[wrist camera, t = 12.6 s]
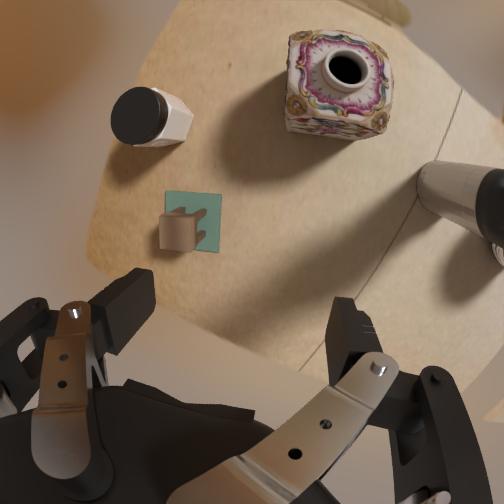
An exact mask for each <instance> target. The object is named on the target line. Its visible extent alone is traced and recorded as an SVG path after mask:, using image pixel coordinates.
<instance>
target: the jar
mask: <svg viewBox="0 0 504 504" xmlns="http://www.w3.org/2000/svg"><path fill="white" fill-rule="evenodd" d="M193 118H194V115H193V114H192V113H191V112H190V110H189V109H188V108H187V107H186V106H185V105H184V104H183V102H182V101H181V100H180V99H179V98H177V97H174V96H172V95H170V94H168V93H166V92H163V91H161V90H159V89H157V88H152V89H149V88H147V87H135V88H132V89H130V90H128V91H126V92H125V93H124V94H123V95H121V96H120V98H119V99H118V100H117V102H116V103H115V105H114V107H113V110H112V113H111V128H112V131H113V133H114V135H115V136H116V138H117V139H118V140H120V141H121V142H123V143H126V144H131V145H133V146H135V147H163V146H167V145H171V144H175V143H179V142H183V141H185V140H186V137H187V134H188V132H189V129H190V126H191V124H192V121H193Z"/></svg>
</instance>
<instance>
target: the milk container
mask: <svg viewBox="0 0 504 504" xmlns="http://www.w3.org/2000/svg"><path fill="white" fill-rule="evenodd" d="M491 247H492V250H493V253H494V255H495V257H496V259H497V260H498V262H499V263H500V264H501V265H502V266H503V267H504V249H502V248H501V247H499V246H497V245H495V244H493V243H492V242H491Z"/></svg>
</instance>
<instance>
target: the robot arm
mask: <svg viewBox="0 0 504 504" xmlns="http://www.w3.org/2000/svg"><path fill="white" fill-rule="evenodd" d="M417 193H418V197H419V199H420V201H421V203H422V204H423V206H424V207H425V208H427V209H428V210H430V211H432V212H434V213H436V214H438V215H440V216H442V217H444V218H446V219H448V220H450V221H452V222H454V223H456V224H458V225H460V226H462V227H464V228H466V229H468V230H470V231H471V232H473V233H475V234H477V235H479V236H481V237H483V238H484V239H486V240H488V241H490V242H492V243H493V244H495V245H497V246H499V247H501V248H502V249H504V169H498V168H492V167H486V166H479V165H471V164H463V163H455V162H446V161H431V162H429V163H427V164H426V165H425V166H424V167H423V168H422V169H421V171H420V173H419V175H418V179H417ZM155 305H156V298H155V288H154V276H153V272H152V271H151V270H148V269H142V268H134V269H133V270H132V271H130V272H129V273H128V274H127V275H125V276H123V277H121V278H118V279H116V280H115V281H113V282H112V283H111V284H109V286H107V287H106V288H104V290H102V291H100V292H99V293H98V294H97V295H95V296H94V297H93V298H92V299H90V300H89V301H88V302H85V301H73V302H69V303H67V304H65V305H64V306H63V307H62V308H61V309H60V311H58V310H50V309H49V306H48V303H47V300H46V299H44V298H40V297H37V298H32V299H29V300H27V301H26V302H24V303H23V304H22V305H20V306H19V307H18V308H16V309H15V310H14V311H13V312H11V313H10V314H9V315H7V316H6V317H5V318H4V319H3V320H1V321H0V504H340V503H339V502H338V500H337V499H336V498H335V497H334V496H333V495H332V494H331V493H330V492H329V491H328V489H327V488H326V487H325V486H324V485H323V484H322V483H321V480H322V479H323V478H324V477H325V476H326V475H327V474H328V473H329V472H330V471H331V469H332V468H333V467H334V466H335V465H336V464H337V462H338V461H339V460H340V459H341V458H342V456H343V455H344V454H345V453H346V452H347V450H348V449H349V448H350V447H351V446H352V444H353V443H354V442H355V440H356V439H357V438H358V436H359V435H360V434H361V432H362V431H363V430H364V429H365V427H366V426H367V425H372V426H377V427H381V428H385V429H388V431H389V438H390V446H391V455H392V465H393V477H394V491H395V504H493V501H492V495H491V490H490V485H489V481H488V477H487V472H486V468H485V465H484V461H483V457H482V454H481V451H480V447H479V444H478V441H477V438H476V435H475V432H474V429H473V426H472V423H471V421H470V418H469V415H468V413H467V410H466V408H465V405H464V403H463V400H462V398H461V395H460V393H459V391H458V388H457V386H456V384H455V381H454V379H453V377H452V376H451V374H450V373H449V372H448V371H446V370H445V369H443V368H441V367H438V366H427V367H425V368H424V369H423V370H422V371H421V373H420V375H419V376H418V375H414V374H409V373H405V372H402V371H399V366H398V364H397V362H396V361H395V360H394V359H393V358H392V357H390V356H389V355H387V354H384V353H383V350H382V348H381V345H380V342H379V340H378V337H377V334H375V333H376V332H375V329H374V327H373V324H372V321H371V319H370V317H369V316H368V315H367V314H366V313H365V312H364V311H359V310H357V309H356V306H355V303H354V300H353V298H345V297H335V298H334V301H333V305H332V309H331V313H330V316H329V320H328V324H327V328H326V334H325V345H326V354H327V363H328V373H329V385H327V386H326V387H325V388H323V389H322V390H321V392H319V393H318V394H317V395H316V396H315V397H314V398H313V399H312V400H311V401H310V402H308V404H306V405H305V406H304V407H303V408H302V409H300V410H299V411H298V412H297V413H296V414H295V415H293V416H292V417H291V418H290V419H289V420H287V421H286V422H285V423H284V424H283V425H281V426H280V427H279V428H278V429H276V430H273V429H272V428H270V427H269V426H267V425H265V424H263V423H261V422H258V421H256V420H254V415H255V410H249V409H243V408H237V407H232V406H227V405H222V404H191V403H183V402H181V401H179V400H177V399H175V398H173V397H171V396H170V395H168V394H166V393H164V392H162V391H160V390H159V389H157V388H155V387H152V386H149V385H145V384H143V383H139V382H136V381H134V380H131V379H127V381H126V382H125V384H124V385H123V386H109V384H108V377H107V370H106V360H105V357H104V354H105V353H106V352H108V353H111V354H114V355H116V356H117V355H118V354H119V353H120V351H121V350H122V349H123V348H124V346H125V345H126V344H127V343H128V342H129V340H130V339H131V338H132V337H133V336H134V334H135V333H136V332H137V331H138V330H139V329H140V327H141V326H142V325H143V324H144V322H145V321H146V320H147V319H148V318H149V317H150V316H151V314H152V313H153V311H154V309H155ZM29 336H31V339H32V341H33V344H34V346H35V349H34V350H33V351H32V352H31V353H30V354H29V355H28V356H27V357H26V358H25V359H24V360H23V361H22V362H20V360H19V358H18V355H17V350H18V347H19V345H20V344H21V343H22V342H23V341H24V340H26V339H27V338H28V337H29ZM38 389H40V390H39V400H38V407H37V408H34V409H30V410H27V411H23V412H21V411H22V410H23V408H24V407H25V406H26V404H27V403H28V402H29V401H30V399H31V398H32V397H33V396H34V394H35V393H36V392H37V391H38Z"/></svg>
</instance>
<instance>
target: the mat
mask: <svg viewBox="0 0 504 504" xmlns="http://www.w3.org/2000/svg"><path fill="white" fill-rule="evenodd" d="M221 201H222V195H221V194H209V193H196V192H181V191H166V201H165V213H166V212H170V211H172V210H174V209H176V208H178V207H186V210H185V213H187V214H193V213H194V212H196V211H197V210H199V209H201V208H203V209H207V215H205V216H204V217H203V218H201V219H200V220H198V223H197V233H198V232H199V231H200V230H204V231H206V237H205V238H203V239H202V240H201V241H200V242H199V243H198V244H197V247H196V248H195V250H203V251H211V252H219V239H220V219H221Z"/></svg>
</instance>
